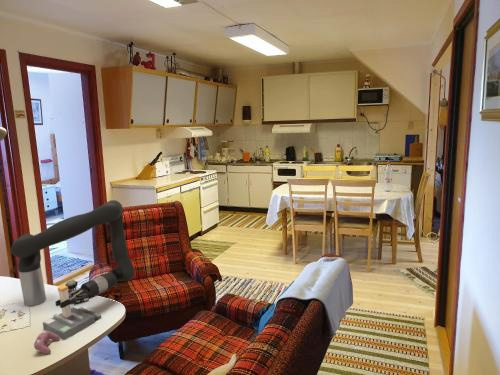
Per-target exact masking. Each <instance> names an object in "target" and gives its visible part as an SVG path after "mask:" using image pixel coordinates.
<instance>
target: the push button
mask: <svg viewBox="0 0 500 375" xmlns="http://www.w3.org/2000/svg"><path fill="white" fill-rule="evenodd" d="M64 285H65V286H68V290H69V289H72V291H75V290H76V289H77V287H78V281H76V280H75V279H70V280H68V281H67V282H66V283H65V284H64Z"/></svg>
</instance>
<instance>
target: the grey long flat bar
mask: <svg viewBox="0 0 500 375" xmlns="http://www.w3.org/2000/svg"><path fill="white" fill-rule="evenodd" d="M78 309H79V310H81V311H83V312H86V313H88V314H90V315H93V316H94V318H95V322H97V321H99V320H100V319H102V314H99V313H96V312H94V311H92V310H89V309H87V308H85V307H82V306H81V307H78Z"/></svg>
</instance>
